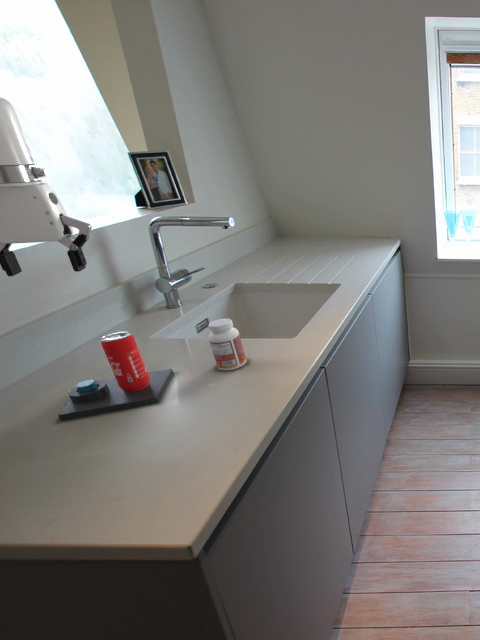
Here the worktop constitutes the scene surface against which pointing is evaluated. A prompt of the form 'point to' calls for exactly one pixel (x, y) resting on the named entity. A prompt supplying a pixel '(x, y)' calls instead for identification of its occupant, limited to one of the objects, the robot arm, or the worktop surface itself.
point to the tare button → (86, 386)
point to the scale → (115, 396)
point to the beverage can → (125, 361)
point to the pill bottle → (226, 345)
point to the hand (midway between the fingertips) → (48, 271)
